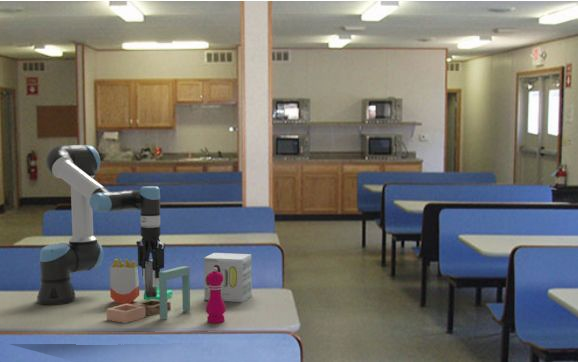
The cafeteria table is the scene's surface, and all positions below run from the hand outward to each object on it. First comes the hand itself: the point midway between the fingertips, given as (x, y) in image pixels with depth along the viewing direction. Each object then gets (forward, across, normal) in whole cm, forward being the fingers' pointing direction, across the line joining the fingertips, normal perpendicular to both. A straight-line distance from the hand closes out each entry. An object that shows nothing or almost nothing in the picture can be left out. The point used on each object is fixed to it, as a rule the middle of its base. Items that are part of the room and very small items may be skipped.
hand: (151, 285), depth 263 cm
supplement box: (+10, +12, +32) cm, 36 cm away
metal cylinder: (+4, 0, 0) cm, 4 cm away
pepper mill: (+10, +32, +2) cm, 33 cm away
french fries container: (+10, -20, +4) cm, 23 cm away
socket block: (+10, 0, 0) cm, 10 cm away
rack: (+10, 0, -14) cm, 17 cm away
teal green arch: (+10, +13, 0) cm, 16 cm away
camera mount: (+11, -12, +16) cm, 22 cm away
